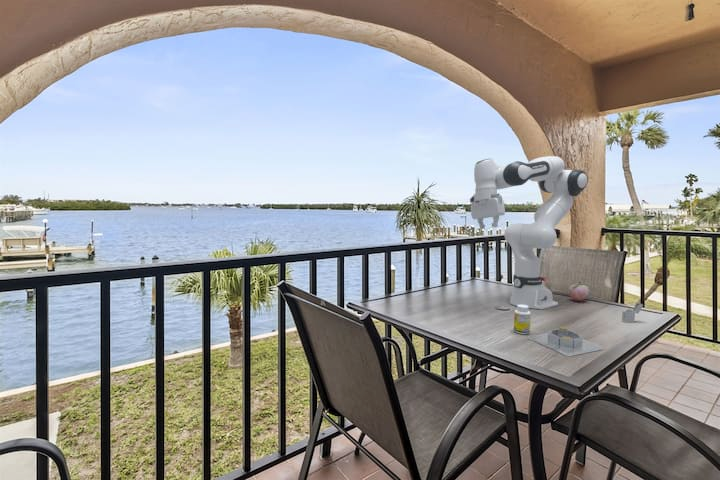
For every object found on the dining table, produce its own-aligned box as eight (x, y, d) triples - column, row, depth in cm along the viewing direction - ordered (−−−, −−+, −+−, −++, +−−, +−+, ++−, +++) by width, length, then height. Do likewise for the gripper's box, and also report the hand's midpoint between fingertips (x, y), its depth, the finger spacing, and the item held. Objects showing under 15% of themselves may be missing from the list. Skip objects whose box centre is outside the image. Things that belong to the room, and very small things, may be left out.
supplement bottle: (516, 328, 137) (517, 302, 136) (531, 331, 133) (532, 305, 132) (511, 332, 132) (512, 306, 131) (527, 335, 129) (528, 308, 128)
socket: (560, 333, 132) (561, 322, 131) (603, 349, 117) (604, 337, 116) (528, 338, 126) (528, 327, 126) (568, 356, 111) (569, 344, 111)
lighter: (624, 322, 144) (626, 303, 143) (621, 321, 145) (623, 302, 145) (641, 322, 144) (643, 303, 143) (638, 321, 146) (640, 302, 145)
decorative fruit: (574, 298, 181) (575, 279, 180) (591, 301, 174) (592, 282, 173) (564, 300, 176) (565, 281, 175) (581, 304, 169) (582, 284, 168)
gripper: (507, 192, 143) (510, 225, 143) (479, 199, 163) (481, 228, 163) (494, 192, 142) (496, 226, 141) (467, 199, 162) (469, 229, 161)
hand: (488, 227), depth 152 cm, fingers open, 8 cm apart
